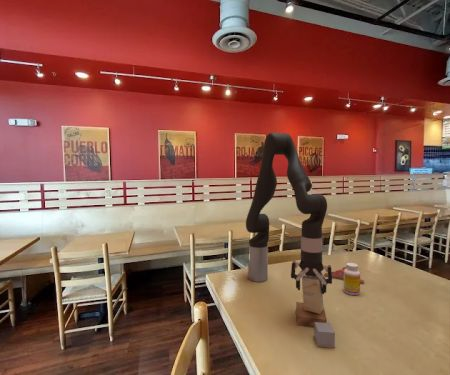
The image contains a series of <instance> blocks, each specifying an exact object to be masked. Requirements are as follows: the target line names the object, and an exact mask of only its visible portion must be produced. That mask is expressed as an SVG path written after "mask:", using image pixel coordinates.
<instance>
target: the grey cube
mask: <svg viewBox="0 0 450 375" xmlns="http://www.w3.org/2000/svg"><path fill="white" fill-rule="evenodd" d="M313 329H314V339H315V341H316V344H317V347H318V346H323V347H322V348H331V347H335V346H336V344H335V343H336V332H335V329H334V328H333V326H332V323H330V322H327V323H319V322H315V328H313Z"/></svg>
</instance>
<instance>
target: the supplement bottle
mask: <svg viewBox="0 0 450 375" xmlns="http://www.w3.org/2000/svg"><path fill="white" fill-rule="evenodd" d="M345 267H347V268H346V269H345V270H344V280H343V292H344V293H346V294H347V295H351V296H358V295H360V293H361V284H360V279H361V272H360V270H359V265H358V264H357V263H355V262H347V263H346V266H345Z"/></svg>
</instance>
